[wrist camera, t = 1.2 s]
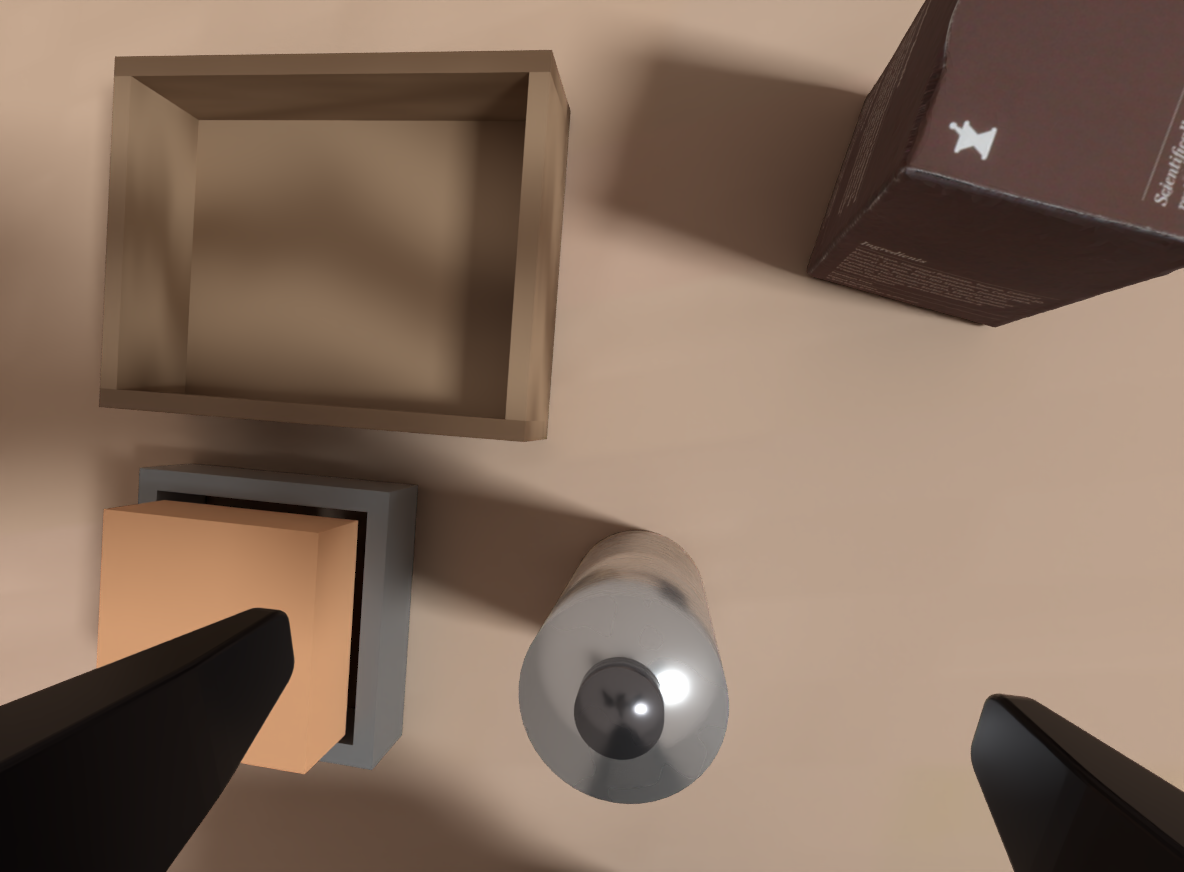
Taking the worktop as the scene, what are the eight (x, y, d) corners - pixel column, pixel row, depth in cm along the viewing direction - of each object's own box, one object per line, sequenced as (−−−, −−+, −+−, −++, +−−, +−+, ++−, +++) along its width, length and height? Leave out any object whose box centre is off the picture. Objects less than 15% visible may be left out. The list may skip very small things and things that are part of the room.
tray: (546, 438, 19) (524, 441, 16) (181, 409, 20) (99, 406, 17) (570, 111, 18) (551, 50, 15) (196, 110, 20) (115, 56, 17)
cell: (698, 668, 18) (722, 842, 11) (568, 651, 19) (503, 804, 11) (709, 537, 18) (741, 619, 10) (578, 523, 19) (518, 592, 11)
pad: (344, 734, 18) (304, 774, 16) (154, 703, 19) (93, 737, 17) (358, 520, 17) (318, 533, 15) (164, 500, 18) (103, 509, 16)
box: (992, 334, 17) (1243, 265, 9) (798, 277, 17) (894, 172, 10) (1066, 139, 16) (1388, -88, 9) (866, 89, 17) (1015, -159, 10)
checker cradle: (401, 734, 20) (371, 769, 18) (178, 699, 21) (126, 728, 19) (417, 485, 19) (389, 492, 17) (190, 463, 20) (139, 467, 18)
